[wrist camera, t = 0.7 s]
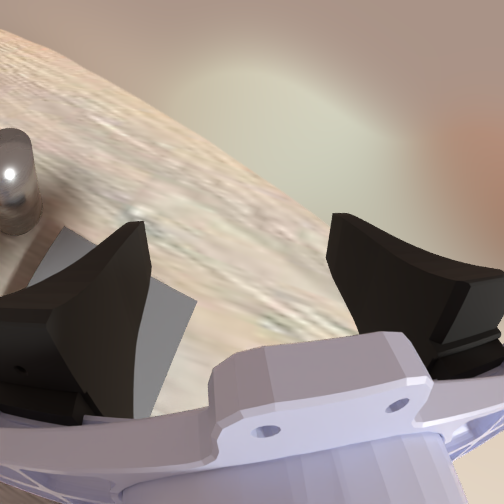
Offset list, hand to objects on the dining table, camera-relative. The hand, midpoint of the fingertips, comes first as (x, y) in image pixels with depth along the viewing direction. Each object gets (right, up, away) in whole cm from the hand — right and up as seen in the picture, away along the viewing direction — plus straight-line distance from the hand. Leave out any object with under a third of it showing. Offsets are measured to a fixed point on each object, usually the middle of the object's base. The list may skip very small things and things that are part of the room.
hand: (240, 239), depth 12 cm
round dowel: (-20, +3, +10) cm, 23 cm away
